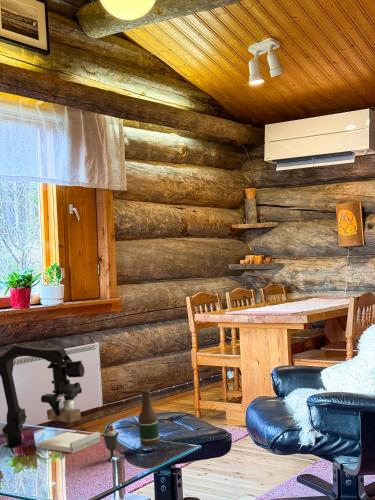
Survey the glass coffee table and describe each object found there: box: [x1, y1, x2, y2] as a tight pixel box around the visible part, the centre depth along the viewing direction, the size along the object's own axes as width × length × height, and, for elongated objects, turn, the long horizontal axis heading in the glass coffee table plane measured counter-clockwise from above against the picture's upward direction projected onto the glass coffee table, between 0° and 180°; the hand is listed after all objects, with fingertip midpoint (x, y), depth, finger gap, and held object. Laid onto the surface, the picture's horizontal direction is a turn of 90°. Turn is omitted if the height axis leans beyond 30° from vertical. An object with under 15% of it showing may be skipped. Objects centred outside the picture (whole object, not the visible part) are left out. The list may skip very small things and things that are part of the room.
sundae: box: [101, 422, 120, 463], centre depth 277 cm, size 7×7×15 cm
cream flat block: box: [39, 431, 101, 454], centre depth 303 cm, size 20×16×4 cm
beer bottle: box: [138, 388, 161, 446], centre depth 286 cm, size 8×8×24 cm
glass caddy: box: [46, 398, 82, 423], centre depth 304 cm, size 14×6×8 cm, turn 53°
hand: (63, 414), depth 304 cm, fingers closed on glass caddy, 6 cm apart
